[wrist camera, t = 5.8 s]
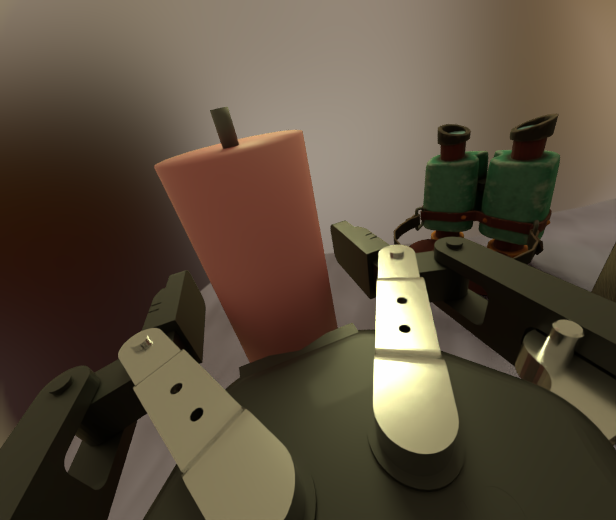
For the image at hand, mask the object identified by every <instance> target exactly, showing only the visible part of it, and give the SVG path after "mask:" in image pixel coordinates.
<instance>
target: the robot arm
mask: <svg viewBox="0 0 616 520" xmlns="http://www.w3.org/2000/svg"><path fill="white" fill-rule="evenodd" d="M331 235H332V242H333V248H334V254H335V257H336V259H337V261H338V263H339V264H340V265H341V266H342V268H343V269H344V270H345V271H346V272H347V273H348V274H349V276H350V277H351V278H352V279H353V280H354V281H355V282H356V284H357V285H358V286H359V287H360V288H361V289H362V290H363V291H364V293H365V294H366V295H367V296H368V297H369V298H370V299H373V298H375V297H377V301H376V330H357V329H356V327H355V326H354V325H353V323H351V324H348V325H346V326H343V327H341V328H338V329H335V330H333V331H330V332H328V333H326V334H324V335H323V336H321V337H320V338H318V339H317V340H315V341H314V342H312V343H311V344H309V345H308V346H306V347H304V348H303V349H301V350H298V351H293V352H287V353H281V354H276V355H270V356H267V357H264V358H262V359H259V360H256V361H254V362H251V363H249V364H246V365H244V366H241V367H239V370H240V378H239V379H237V380H236V381H235V382H233V383H232V384H231V385H230V386H228V387H227V388H226V389H225V390H224V389H223V388H222V387H221V386H220V385H219V384H218V383H217V382H216V381H215V380H214V379H213V378H212V377H211V376H210V375H209V374H208V373H207V372H206V371H205V370H204V369H203V368H202V367H201V366H200V365H199V364H200V363H202V360H203V343H204V327H205V311H206V307H205V302H204V299H203V297H202V295H201V293H200V291H199V289H198V287H197V285H196V284H195V282H194V280H193V278H192V276H191V274H190V273H189V271H183V272H180V273H176V274H173V275H170V276H169V279H168V282H167V285H166V288H164V289H161V290H160V291H159V292H158V294H157V295H156V296H155V297H154V299H153V301H152V304H151V307H150V310H149V313H148V315H147V318H146V321H145V324H144V326H143V329H142V331H141V332H139V333H137V334H136V335H134V336H133V337H131V338H130V339H129V340H128V341H127V342H126V343H125V344H124V345H123V346H122V348H121V349H120V351H119V354H118V356H119V359H118V360H116V361H115V362H113V363H111V364H109V365H108V366H106V367H104V368H102V369H101V370H99V371H97V372H95V373H94V372H93V371H92V370H91V369H90V368H88V367H87V366H78V367H75V368H72V369H70V370H67V371H65V372H64V373H62V374H60V375H59V376H58V377H56V378H54V379H53V380H52V381H51V382H49V383H48V384H47V385H46V386H45V387H44V388H43V389H42V390H41V391H40V393H39V394H38V395H37V397H36V399H35V400H34V401H33V403H32V404H31V406H30V407H29V408H28V410H27V411H26V413H25V414H24V415H23V417H22V418H21V420H20V421H19V423H18V424H17V426H16V427H15V428H14V430H13V431H12V433H11V434H10V436H9V437H8V439H7V440H6V442H5V443H4V444H3V446H2V447H1V448H0V520H107V519H108V516H109V513H110V509H111V506H112V503H113V499H114V496H115V493H116V490H117V486H118V483H119V480H120V476H121V473H122V470H123V467H124V463H125V460H126V457H127V453H128V450H129V447H130V443H131V440H132V437H133V434H134V430H135V427H136V424H137V420H138V419H140V418H141V417H142V416H144V415H145V414H147V413H148V415H149V417H150V419H151V420H152V422H153V424H154V425H155V427H156V429H157V431H158V432H159V434H160V436H161V437H162V439H163V441H164V442H165V444H166V446H167V448H168V449H169V451H170V453H171V454H172V456H173V458H174V460H175V461H176V463H177V464H176V466H175V467H174V469H173V471H172V472H171V474H170V476H169V477H168V479H167V481H166V482H165V484H164V486H163V487H162V489H161V490H160V492H159V494H158V495H157V497H156V499H155V500H154V502H153V504H152V505H151V507H150V509H149V510H148V512H147V514H146V515H145V517H144V519H143V520H616V450H615V448H614V447H613V446H614V445H615V444H616V303H615V302H613V301H610V300H608V299H606V298H603V297H601V296H599V295H596V294H594V293H592V292H589V291H587V290H585V289H582V288H580V287H578V286H575V285H573V284H571V283H568V282H566V281H564V280H561V279H559V278H557V277H554V276H552V275H550V274H547V273H545V272H543V271H540V270H538V269H536V268H533V267H531V266H529V265H526V264H524V263H522V262H519V261H517V260H515V259H512V258H510V257H508V256H505V255H503V254H500V253H498V252H496V251H493V250H491V249H489V248H486V247H484V246H482V245H479V244H477V243H475V242H472V241H470V240H468V239H465V238H460V237H445V238H441V239H439V240H437V241H436V242H435V244H434V251H429V252H422V253H415V251H414V250H413V249H412V248H410V247H408V246H405V245H389V244H387V243H386V242H384V241H383V240H382V239H380V238H379V237H377V236H376V235H374V234H372V232H370V231H369V230H367V229H365V228H362V227H353V226H352V225H351V224H349V223H348V222H347V221H342V222H339V223H336V224H332V225H331ZM469 280H470V281H472V282H474V283H475V284H477V285H479V286H481V287H482V288H483V289H484V290H485V291H486V293H487V295H488V300H486V299H484V298H483V297H481V296H479V295H478V294H476V293H475V292H473V291H471V290H470V289H468V285H469ZM429 302H433V303H434V304H435V305H436V306H437V307H439V308H440V309H441V310H442V311H444V312H445V313H446V314H448V315H449V316H450V317H451V318H453V319H454V320H455V321H457V322H458V323H459V324H461V325H462V326H463V327H464V328H466V329H467V330H468V331H470V332H471V333H472V334H473V335H475V336H476V337H477V338H479V339H480V340H481V341H483V342H484V343H485V344H486V345H488V346H489V347H490V348H492V349H493V350H494V351H495V352H497V353H498V354H499V355H501V356H502V357H503V358H504V359H506V360H507V361H508V362H510V363H511V364H512V365H514V366H515V369H516V371H517V373H518V375H519V377H520V378H521V379H520V378H517V377H514V376H512V375H509V374H506V373H503V372H500V371H497V370H495V369H492V368H489V367H486V366H483V365H480V364H477V363H475V362H472V361H469V360H466V359H463V358H460V357H458V356H455V355H452V354H449V353H446V352H443V351H440V348H439V344H438V339H437V335H436V330H435V326H434V321H433V317H432V312H431V308H430V303H429ZM75 435H76V436H77V437H78V438H80V439H81V440H82V442H81V445H80V447H79V449H78V451H77V453H76V455H75V458H74V460H73V462H72V464H71V466H70V469H69V471H68V473H67V472H66V470H65V467H64V459H65V455H66V453H67V450H68V448H69V446H70V444H71V442H72V440H73V438H74V436H75Z"/></svg>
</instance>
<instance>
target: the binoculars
mask: <svg viewBox="0 0 616 520" xmlns="http://www.w3.org/2000/svg"><path fill="white" fill-rule="evenodd" d="M557 118H558V114H549V115H545V116H541V117H538V118H535V119H532V120H529V121H527V122H524V123H522V124H521V125H519V126H517V127H515V128H513V129H512V130H511V132H510V139H511V140H514V141H513V147H512V150H500V151H496V152H495V155H494V158H493V159H491V161H490V165H489V168H488V152H487V151H469V152H465V147H466V141H467V140H469V139H470V132H471V131H470V129H468V128H467V127H464V126H460V125H454V124H446V125H442V126H440V127H438V144H440V145H441V155H438V156H435V157H433V158H432V159H431V160H430V161H428V163H427V166H426V176H425V189H424V205H423V206H422V207H419V208H417V209H416V210H415V215H413V216H412V217H411V218H408V219H406V221H405V222H404V223H402V224H400V225H399V226H398V227H397V229H395V230H394V245H401V244H400V243H399V242H398V241H397V239H399V237H400V236H401V235H402V234H404V233H406V232H407V231H409V230H410V229H413V228H415V229H416V230H417V231H418V230H419V229H420V228H421V227H422V226H424V227H425V228H427V229H430V230H436V231H434V232H433V233H432V234H431V239H426V240H421V241H418V242H415V243H413V244H412V245H410V246H409V247H410V248H412V249H413V250H414V251H415V253H422V252H429V251H434V244H435V242H436V241H437V240H439V239H441V238H445V237H460V238H464V234H463V233H462V232H463V231H467V230H469V229H471V227H472V226H473V221H479V222H480V223H479V231H480V233H482V234H483V235H484V236H486V237H489V238H492V240H490V241H489V242H488V245H487V248H489V249H491V250H493V251H496V252H498V253H500V254H503V255H505V256H508V257H510V258H512V259H515V260H517V261H519V262H522V263H524V264H528V263H530V262H531V260H532V259H533V257H534V255H535V254H536V255H538V254H539V253H541V252H542V251H543V241H541V240H540V239H541V237H542V235H543V233H544V230H545V227H546V226H547V225H548V224H550V221H549V220H550V216H551V210H550V205H551V200H552V195H553V191H554V187H555V182H556V177H557V173H558V167H559V163H560V155H559V154H558V153H555V152H552V151H544V148H545V145H546V141H547V137H550V136H551V135H553V133H554V129H555V125H556V122H557ZM487 170H488V173H487ZM418 210H422V211H421V220H422V222H421V225H420V214H418ZM419 225H420V226H419ZM418 226H419V227H418ZM468 289H470V290H471V291H473V292H475V293H477V294H480V295H486V296H488V295H487V293H486V291H485V290H484V289H483V288H482V287H481V286H479V285H477V284H475V283H474V282H472V281H470V280H469V285H468Z"/></svg>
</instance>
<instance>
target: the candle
mask: <svg viewBox="0 0 616 520" xmlns="http://www.w3.org/2000/svg"><path fill="white" fill-rule="evenodd" d="M210 112H211V115H212V118H213V121H214V124H215V127H216V130H217V133H218V136H219V139H220V142H221V143H220V144H216V145H213V146H208V147H205V148H201V149H197V150H194V151H191V152H187V153H184V154H181V155H178V156H175V157H172V158H169V159H167V160H164V161H162V162H160V163H158V164H156V165H155V166H154V167H155V170H156V172H157V174H158V176H159V178H160V180H161V182H162V184H163V186H164V188H165V190H166V192H167V194H168V196H169V198H170V200H171V202H172V204H173V206H174V208H175V210H176V213H177V215H178V216H179V218H180V221H181V223H182V225H183V227H184V229H185V231H186V233H187V235H188V237H189V239H190V241H191V243H192V245H193V247H194V249H195V251H196V253H197V255H198V257H199V260H200V262H201V264H202V265H203V268H204V270H205V272H206V274H207V276H208V278H209V280H210V282H211V284H212V286H213V288H214V290H215V292H216V294H217V296H218V298H219V300H220V302H221V305H222V307H223V309H224V311H225V313H226V315H227V317H228V319H229V321H230V323H231V325H232V327H233V329H234V331H235V333H236V335H237V337H238V339H239V341H240V343H241V345H242V347H243V349H244V352H245V354H246V356H247V358H248V360H249V362H250V363H251V362H254V361H256V360H259V359H262V358H264V357H267V356H270V355H276V354H281V353H287V352H293V351H298V350H301V349H303V348H304V347H306V346H308V345H309V344H311V343H312V342H314V341H315V340H317V339H318V338H320V337H321V336H323V335H324V334H326V333H328V332H330V331H333V330H335V329H338V327H337V322H336V316H335V311H334V305H333V299H332V294H331V288H330V283H329V277H328V271H327V266H326V260H325V255H324V249H323V244H322V238H321V232H320V227H319V221H318V216H317V210H316V204H315V199H314V193H313V187H312V182H311V176H310V170H309V165H308V159H307V153H306V148H305V142H304V137H303V131H301V130H287V131H279V132H273V133H267V134H262V135H256V136H251V137H246V138H242V139H237V136H236V133H235V129H234V126H233V123H232V119H231V117H230V113H229V110H228V107H223V108H218V109H214V110H210Z"/></svg>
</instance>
